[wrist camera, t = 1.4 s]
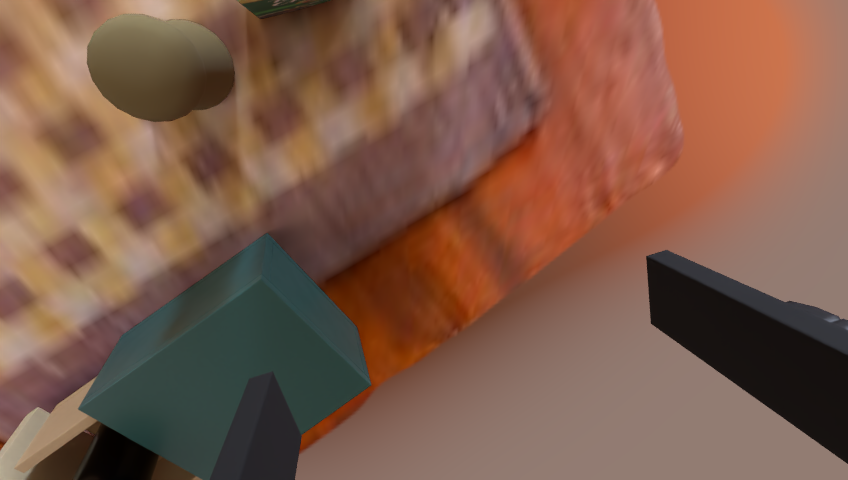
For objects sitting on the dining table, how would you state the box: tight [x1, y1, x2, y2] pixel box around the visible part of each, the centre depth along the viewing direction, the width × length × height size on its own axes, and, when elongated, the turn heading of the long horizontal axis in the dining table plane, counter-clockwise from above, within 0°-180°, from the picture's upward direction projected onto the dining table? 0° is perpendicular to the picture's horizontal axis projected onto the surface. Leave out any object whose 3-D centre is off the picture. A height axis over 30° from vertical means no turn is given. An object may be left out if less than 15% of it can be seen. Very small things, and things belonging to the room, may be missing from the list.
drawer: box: [0, 377, 202, 480], centre depth 35 cm, size 19×12×7 cm, turn 122°
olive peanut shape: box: [87, 14, 235, 122], centre depth 25 cm, size 6×6×11 cm
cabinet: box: [78, 233, 371, 480], centre depth 35 cm, size 16×14×9 cm
